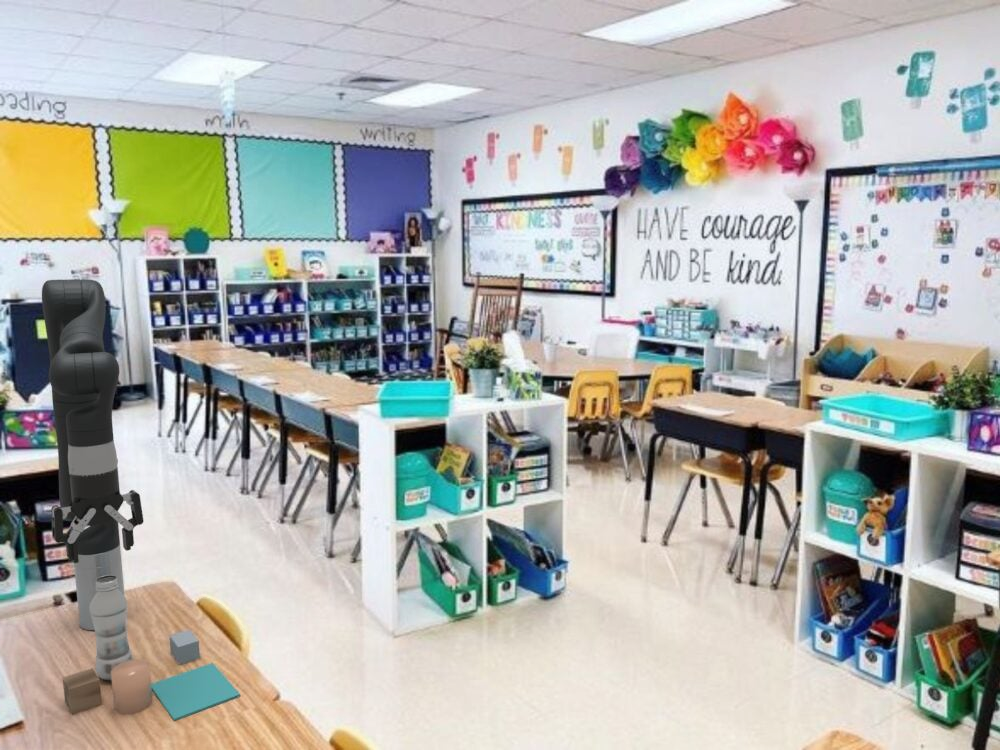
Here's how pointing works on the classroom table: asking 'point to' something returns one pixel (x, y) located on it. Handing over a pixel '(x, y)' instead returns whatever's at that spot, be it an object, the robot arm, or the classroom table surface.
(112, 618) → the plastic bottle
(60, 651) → the classroom table surface
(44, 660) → the classroom table surface
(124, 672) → the beige domed cylinder
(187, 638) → the slate grey box
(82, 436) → the robot arm
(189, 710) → the teal mat
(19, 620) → the classroom table surface
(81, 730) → the classroom table surface
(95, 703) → the walnut block
